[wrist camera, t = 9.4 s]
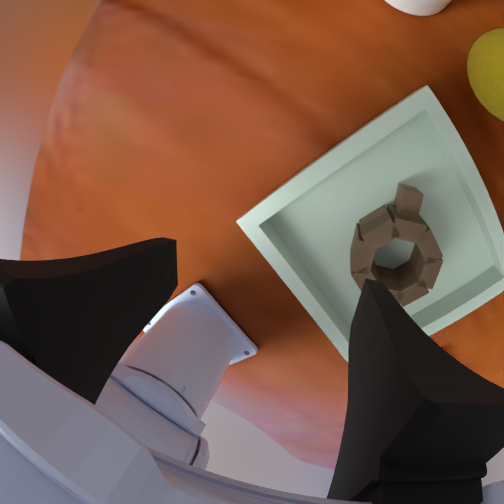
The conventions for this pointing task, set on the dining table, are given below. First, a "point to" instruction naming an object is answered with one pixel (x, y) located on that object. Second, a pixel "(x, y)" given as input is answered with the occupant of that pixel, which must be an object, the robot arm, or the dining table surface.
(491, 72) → the lemon
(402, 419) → the robot arm
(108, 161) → the dining table surface
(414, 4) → the drinking glass
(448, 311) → the tray
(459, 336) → the dining table surface
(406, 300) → the ring
